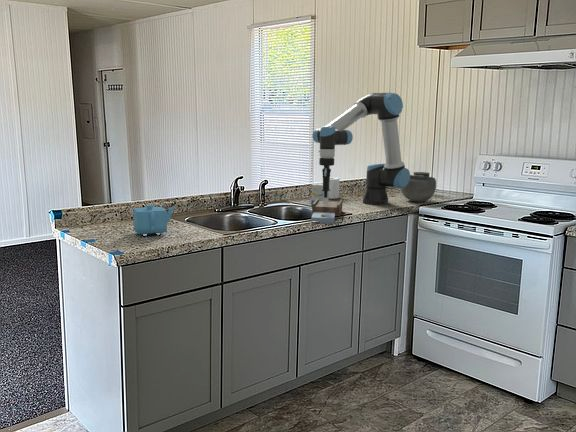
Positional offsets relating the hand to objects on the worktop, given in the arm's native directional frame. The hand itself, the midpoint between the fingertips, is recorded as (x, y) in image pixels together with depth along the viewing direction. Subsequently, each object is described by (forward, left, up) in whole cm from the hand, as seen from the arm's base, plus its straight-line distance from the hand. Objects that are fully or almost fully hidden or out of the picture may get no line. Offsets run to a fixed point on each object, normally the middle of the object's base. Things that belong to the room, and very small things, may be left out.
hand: (325, 203), depth 287 cm
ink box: (+8, -39, -7) cm, 40 cm away
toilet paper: (+4, -65, -7) cm, 66 cm away
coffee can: (-52, -95, -7) cm, 109 cm away
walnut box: (0, -10, -7) cm, 12 cm away
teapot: (+67, +57, -7) cm, 88 cm away
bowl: (-49, -64, -7) cm, 81 cm away
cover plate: (0, +7, -8) cm, 11 cm away
